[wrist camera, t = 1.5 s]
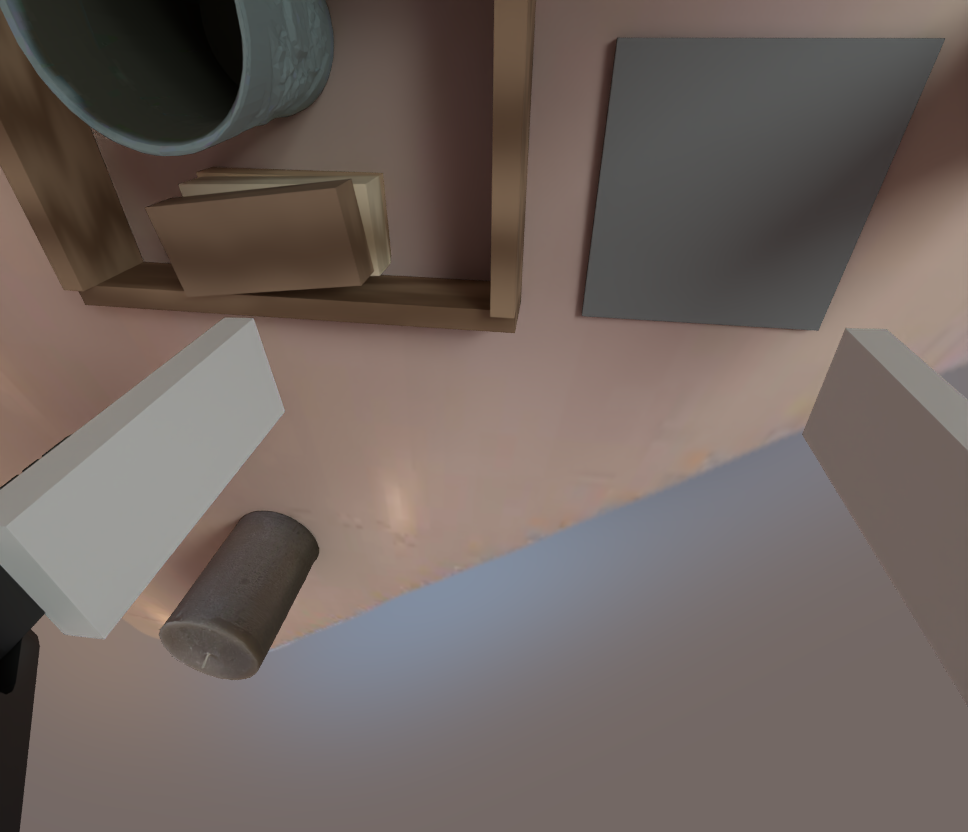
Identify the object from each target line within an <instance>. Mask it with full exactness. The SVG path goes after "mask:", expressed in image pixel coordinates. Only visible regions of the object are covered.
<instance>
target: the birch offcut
mask: <svg viewBox="0 0 968 832" xmlns="http://www.w3.org/2000/svg"><path fill="white" fill-rule="evenodd" d="M344 179H352V183H353V187H354V191H355V195H356V199H357V203H358V207H359V211H360V215H361V219H362V223H363V227H364V231H365V235H366V239H367V243H368V248H369V252H370V256H371V260H372V264H373V268H374V272H373V273H372V274H371V275H370V276H380V275H381V274H382V273H383V272H384V270H385V269H386V268H387V267H388V266H389V265H390V263H391V260H390V253H389V246H388V238H387V231H386V224H385V217H384V209H383V202H382V195H381V187H380V180H379V176H202V177H199V178H196V179H193V180H190V181H187V182H184V183H181V184H178V185H179V188H180V191H181V194H182V197H185V196H194V195H204V194H213V193H222V192H232V191H241V190H250V189H260V188H269V187H278V186H288V185H297V184H306V183H316V182H325V181H334V180H344Z"/></svg>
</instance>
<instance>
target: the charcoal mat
mask: <svg viewBox="0 0 968 832" xmlns="http://www.w3.org/2000/svg"><path fill="white" fill-rule="evenodd" d="M944 40H945V38H617V42H616V50H615V58H614V66H613V74H612V81H611V89H610V97H609V105H608V113H607V121H606V128H605V136H604V144H603V152H602V160H601V167H600V175H599V183H598V191H597V199H596V207H595V214H594V222H593V230H592V238H591V246H590V253H589V261H588V269H587V277H586V285H585V293H584V300H583V308H582V316H589V317H605V318H621V319H638V320H654V321H670V322H687V323H703V324H719V325H735V326H752V327H768V328H784V329H801V330H817V331H818V330H819V328H820V326H821V323H822V321H823V319H824V316H825V314H826V312H827V309H828V307H829V305H830V303H831V300H832V298H833V296H834V293H835V291H836V289H837V286H838V284H839V282H840V280H841V277H842V275H843V273H844V270H845V268H846V266H847V263H848V261H849V259H850V257H851V254H852V252H853V250H854V247H855V245H856V243H857V240H858V238H859V236H860V234H861V231H862V229H863V227H864V224H865V222H866V220H867V217H868V215H869V213H870V211H871V208H872V206H873V204H874V201H875V199H876V197H877V194H878V192H879V190H880V188H881V185H882V183H883V181H884V178H885V176H886V174H887V172H888V169H889V167H890V165H891V162H892V160H893V158H894V155H895V153H896V151H897V149H898V146H899V144H900V142H901V139H902V137H903V135H904V132H905V130H906V128H907V126H908V123H909V121H910V119H911V116H912V114H913V112H914V109H915V107H916V105H917V103H918V100H919V98H920V96H921V93H922V91H923V89H924V86H925V84H926V82H927V80H928V77H929V75H930V73H931V70H932V68H933V66H934V63H935V61H936V59H937V57H938V54H939V52H940V50H941V47H942V45H943V43H944Z"/></svg>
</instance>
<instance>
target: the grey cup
mask: <svg viewBox="0 0 968 832" xmlns="http://www.w3.org/2000/svg"><path fill="white" fill-rule="evenodd" d="M0 7H1V10H2V12H3V14H4V16H5V18H6V20H7V23H8V25H9V27H10V29H11V31H12V33H13V35H14V37H15V39H16V41H17V43H18V45H19V46H20V48H21V49H22V51H23V52H24V54H25V55H26V57H27V58H28V60H29V61H30V63H31V64H32V66H33V67H34V69H35V71H36V72H37V74H38V75H39V76H40V78H41V79H42V80H43V81H44V82H45V84H46V85H47V86H48V87H49V88H50V90H51V91H52V92H53V93H54V94H55V95H56V96H57V97H58V98H59V99H60V100H61V101H62V102H63V103H64V104H65V105H66V106H67V107H68V108H69V109H70V110H71V111H72V112H73V113H74V114H75V115H77V116H78V117H79V118H80V119H81V120H83V121H84V122H85V123H86V124H88V125H89V126H90V127H91V128H93V129H94V130H96V131H98V132H99V133H101V134H102V135H104V136H106V137H107V138H109V139H111V140H112V141H114V142H116V143H118V144H120V145H123V146H125V147H128V148H131V149H133V150H136V151H139V152H141V153H146V154H151V155H156V156H180V155H186V154H192V153H196V152H199V151H202V150H204V149H207V148H209V147H211V146H214V145H216V144H218V143H221V142H223V141H225V140H228V139H230V138H232V137H235V136H237V135H239V134H240V133H241V132H243V131H246V130H248V129H250V128H253V127H254V126H259V125H264V124H267V123H268V122H269V121H271V120H272V119H274V118H277V117H287V116H291V115H293V114H295V113H297V112H299V111H301V110H303V109H305V108H307V107H308V106H309V105H311V104H312V103H313V102H314V101H315V100H316V99H317V98H318V96H319V95H320V93H321V92H322V90H323V88H324V87H325V85H326V82H327V80H328V77H329V74H330V71H331V67H332V61H333V53H334V38H333V28H332V23H331V17H330V14H329V10H328V7H327V4H326V1H325V0H0Z"/></svg>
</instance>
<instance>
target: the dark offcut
mask: <svg viewBox="0 0 968 832" xmlns="http://www.w3.org/2000/svg"><path fill="white" fill-rule="evenodd" d="M145 210H146V212H147V214H148V216H149V218H150V220H151V222H152V224H153V227H154V229H155V231H156V233H157V235H158V237H159V239H160V241H161V243H162V245H163V247H164V250H165V252H166V254H167V256H168V258H169V260H170V262H171V264H172V266H173V268H174V271H175V273H176V275H177V277H178V279H179V281H180V283H181V285H182V287H183V289H184V291H185V294H186V296H187V297H195V296H211V295H226V294H241V293H256V292H271V291H287V290H302V289H317V288H332V287H347V286H361V285H362V284H363V283H364V282H365V281H366V280H367V279H368V278H369V277H370V275H371V274H372V273H373V272H374V268H373V264H372V260H371V256H370V252H369V248H368V243H367V239H366V235H365V231H364V227H363V223H362V219H361V215H360V211H359V207H358V203H357V199H356V195H355V191H354V187H353V183H352V179H344V180H334V181H325V182H316V183H306V184H297V185H288V186H278V187H269V188H260V189H250V190H241V191H232V192H222V193H213V194H204V195H194V196H185V197H176V198H170V199H167V200H165V201H162V202H159V203H156V204H154V205H151V206H148V207H145Z"/></svg>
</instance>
